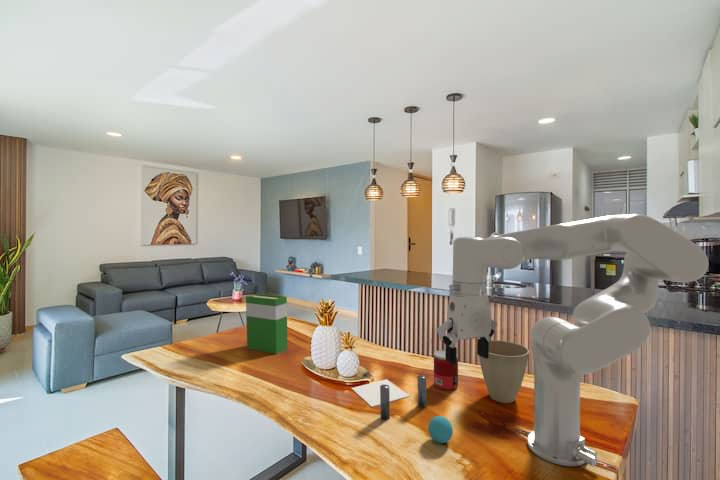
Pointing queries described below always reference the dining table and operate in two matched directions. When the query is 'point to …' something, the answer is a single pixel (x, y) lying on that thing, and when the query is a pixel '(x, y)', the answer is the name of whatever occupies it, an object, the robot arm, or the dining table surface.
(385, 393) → the left post
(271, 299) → the green cereal box
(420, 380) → the right post
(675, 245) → the robot arm
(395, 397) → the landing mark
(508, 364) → the plant pot
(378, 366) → the dining table surface
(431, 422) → the teal sphere
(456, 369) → the canned food
